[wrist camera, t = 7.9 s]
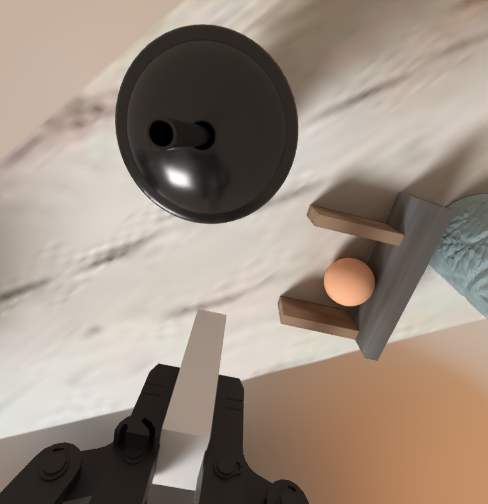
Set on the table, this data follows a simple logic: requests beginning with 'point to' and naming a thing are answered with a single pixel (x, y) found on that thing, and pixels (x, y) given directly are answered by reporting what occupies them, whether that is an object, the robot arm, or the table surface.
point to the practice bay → (376, 271)
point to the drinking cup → (206, 124)
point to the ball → (349, 281)
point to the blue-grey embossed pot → (466, 251)
